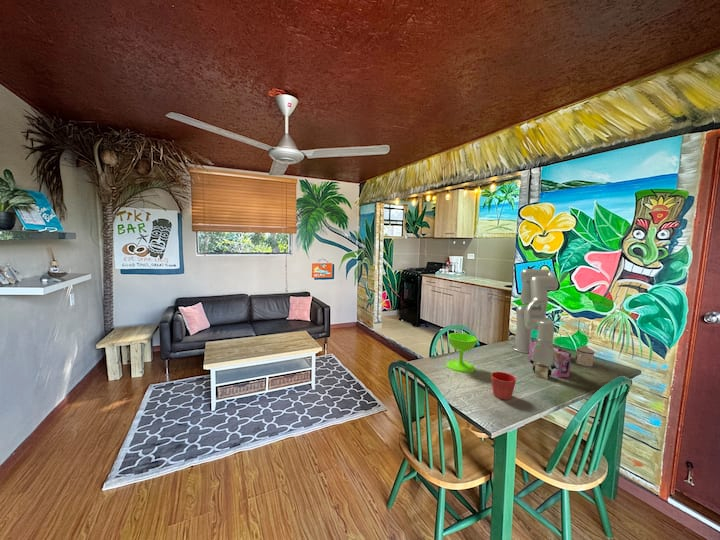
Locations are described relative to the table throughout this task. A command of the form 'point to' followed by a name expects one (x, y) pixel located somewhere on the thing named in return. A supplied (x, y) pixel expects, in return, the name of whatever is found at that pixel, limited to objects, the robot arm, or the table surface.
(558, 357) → the gum box
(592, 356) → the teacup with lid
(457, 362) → the wineglass
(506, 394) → the flower pot
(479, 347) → the table surface
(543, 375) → the birch block
